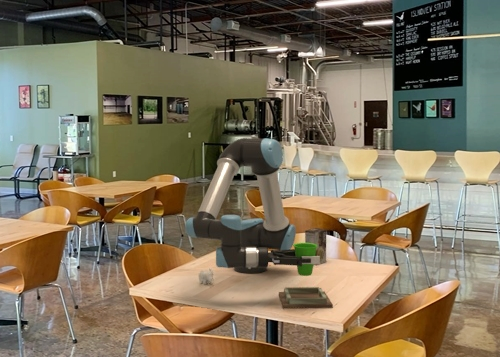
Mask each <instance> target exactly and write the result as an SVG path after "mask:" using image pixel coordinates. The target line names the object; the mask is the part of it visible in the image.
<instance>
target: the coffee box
mask: <svg viewBox="0 0 500 357" xmlns="http://www.w3.org/2000/svg"><path fill="white" fill-rule="evenodd" d="M304 232H305V233H304V237H305V238H304V243H312V244H316V245H317V246H318V247H317V248H316V254H315V256H320V264H314V265H313V266H317V265H321V264H324V263H326V262H327V229H324V228H318V227H315V228H311V229H307V230H305V231H304Z"/></svg>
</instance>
